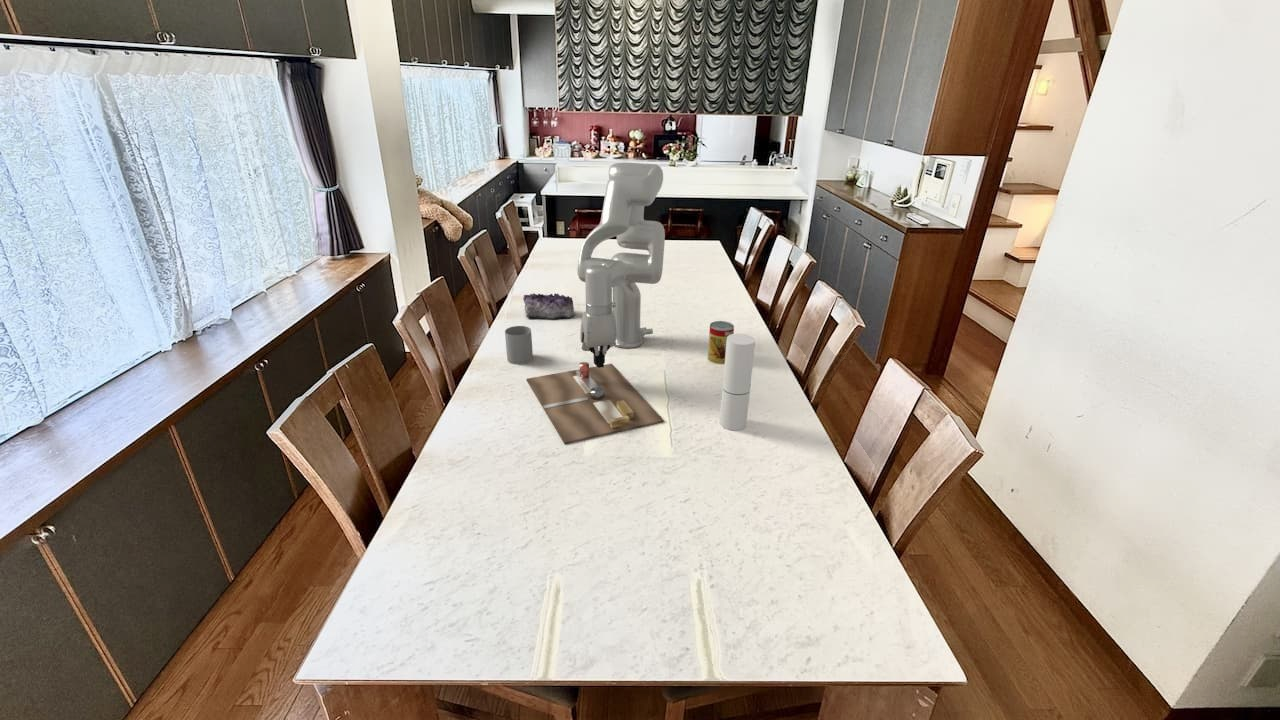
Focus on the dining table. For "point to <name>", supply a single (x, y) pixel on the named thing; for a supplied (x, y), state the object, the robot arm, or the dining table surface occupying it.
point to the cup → (519, 344)
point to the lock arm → (589, 381)
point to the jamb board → (592, 404)
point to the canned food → (719, 340)
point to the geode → (548, 306)
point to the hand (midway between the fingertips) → (599, 365)
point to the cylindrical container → (737, 381)
